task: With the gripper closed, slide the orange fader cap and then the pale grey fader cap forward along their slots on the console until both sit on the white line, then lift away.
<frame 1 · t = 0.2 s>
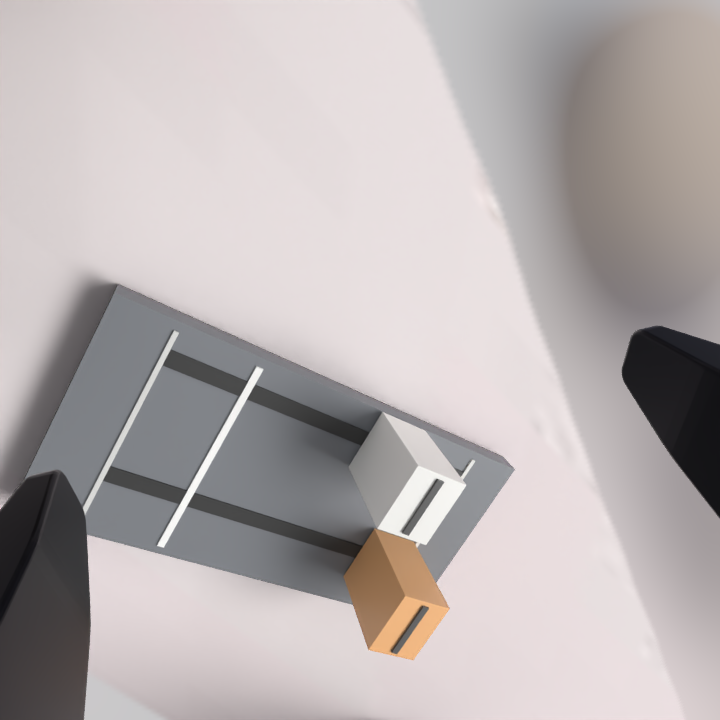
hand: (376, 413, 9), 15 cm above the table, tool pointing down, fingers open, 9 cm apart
console: (287, 474, 27), on the table
fader a: (393, 592, 27), point 4 cm above the table, slide at -6.0 cm
fader b: (403, 475, 24), point 4 cm above the table, slide at -3.0 cm
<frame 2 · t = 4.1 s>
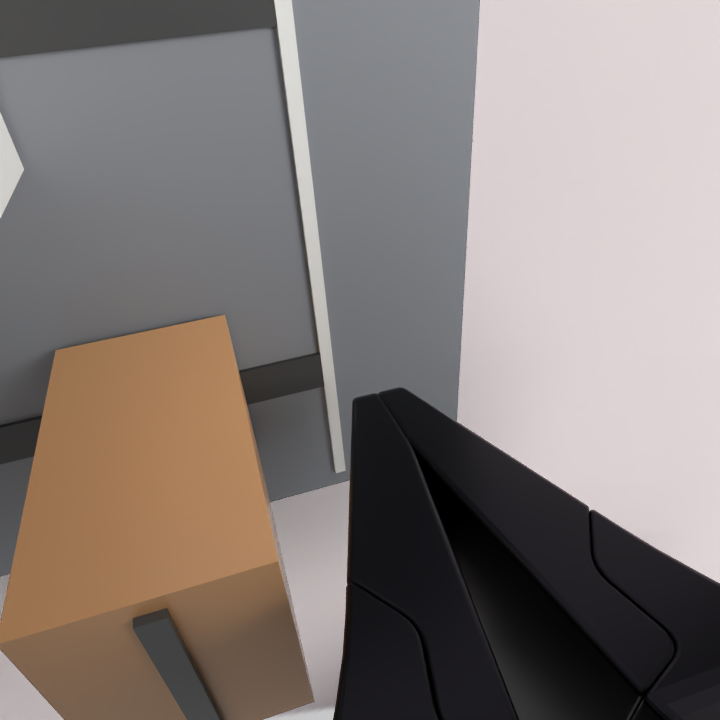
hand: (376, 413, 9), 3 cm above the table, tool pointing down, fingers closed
fader a: (176, 516, 8), point 4 cm above the table, slide at -4.8 cm, touching gripper
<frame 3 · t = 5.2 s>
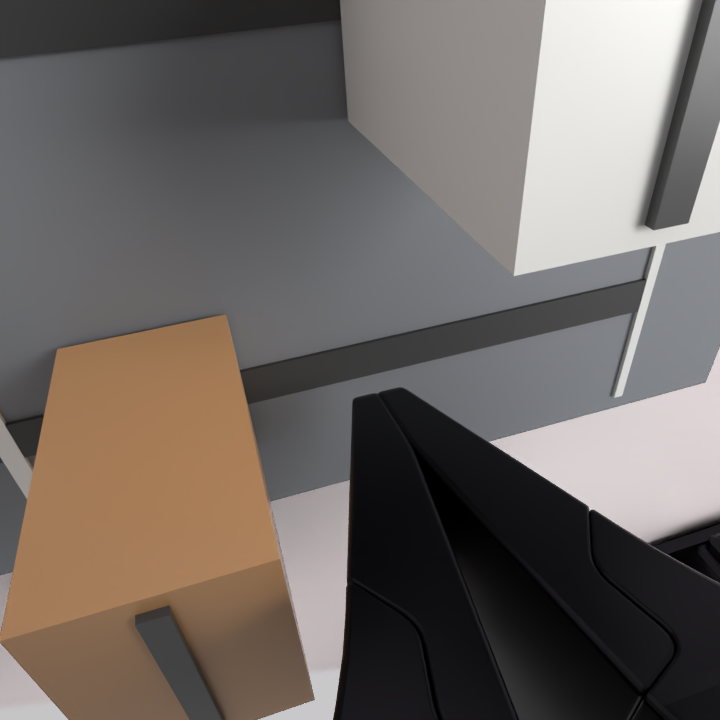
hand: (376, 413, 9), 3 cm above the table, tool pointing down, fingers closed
console: (229, 243, 9), on the table
fader a: (177, 515, 8), point 4 cm above the table, slide at 1.5 cm, touching gripper
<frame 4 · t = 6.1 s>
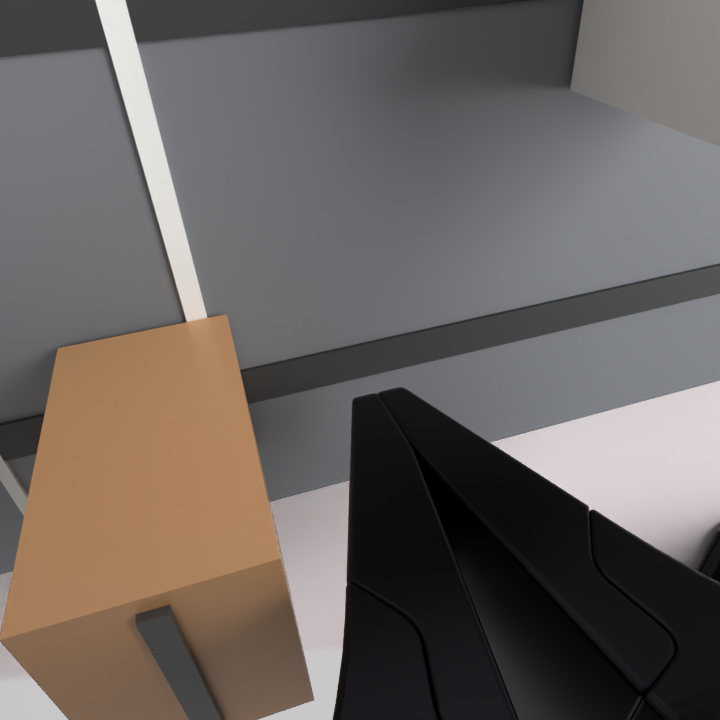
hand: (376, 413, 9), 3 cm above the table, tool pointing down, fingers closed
console: (417, 210, 10), on the table
fader a: (177, 514, 8), point 4 cm above the table, slide at 4.8 cm, touching gripper
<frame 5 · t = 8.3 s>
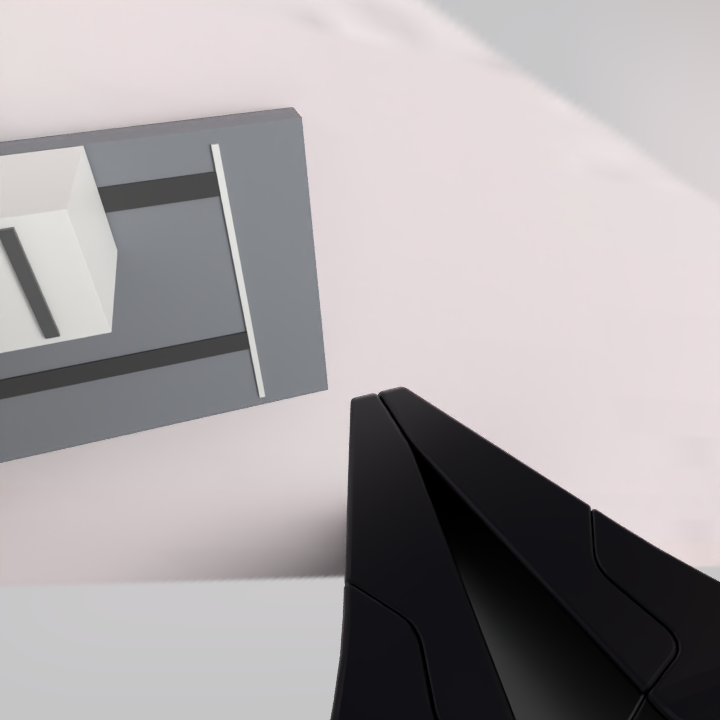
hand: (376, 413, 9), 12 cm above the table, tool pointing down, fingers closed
fader b: (44, 242, 14), point 4 cm above the table, slide at -3.0 cm
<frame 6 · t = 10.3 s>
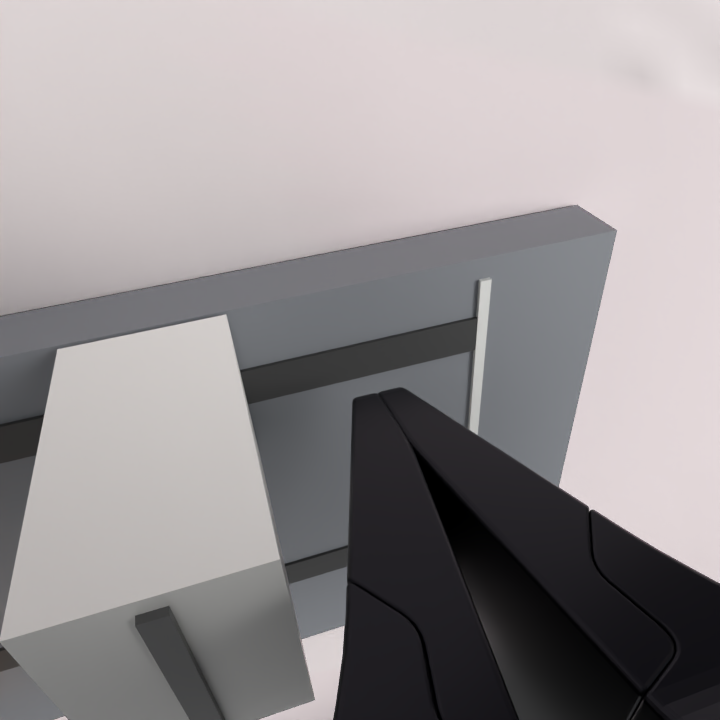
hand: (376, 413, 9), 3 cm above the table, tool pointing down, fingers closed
console: (115, 514, 12), on the table
fader b: (177, 515, 8), point 4 cm above the table, slide at -2.0 cm, touching gripper
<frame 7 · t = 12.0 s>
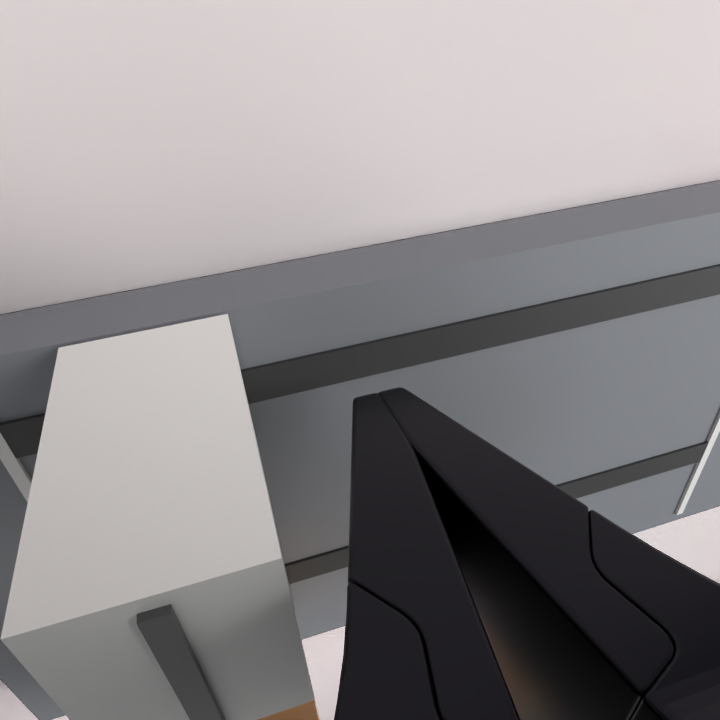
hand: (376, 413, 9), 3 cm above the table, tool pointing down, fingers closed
console: (422, 433, 13), on the table
fader a: (247, 697, 11), point 4 cm above the table, slide at 4.9 cm
fader b: (177, 514, 8), point 4 cm above the table, slide at 4.9 cm, touching gripper
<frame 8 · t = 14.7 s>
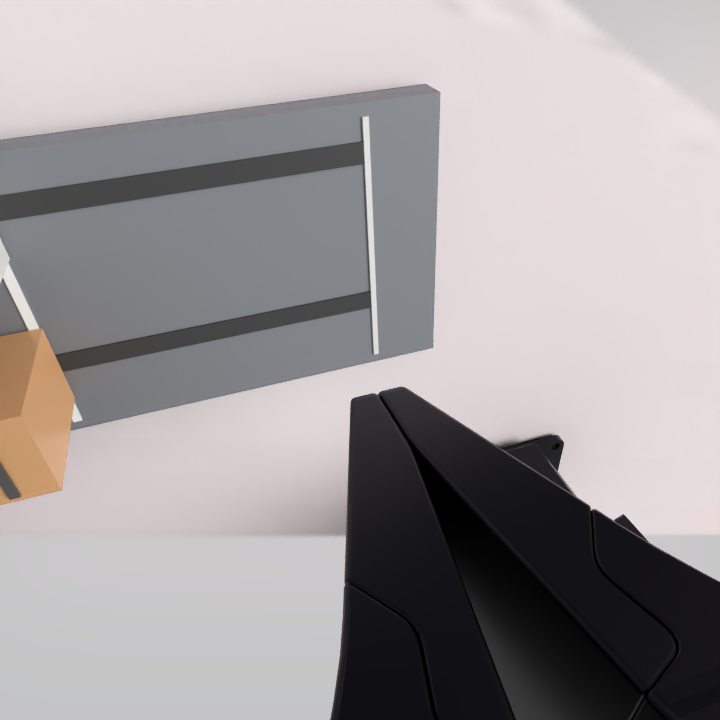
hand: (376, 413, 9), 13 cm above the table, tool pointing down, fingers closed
console: (155, 274, 20), on the table
fader a: (9, 415, 18), point 4 cm above the table, slide at 4.9 cm
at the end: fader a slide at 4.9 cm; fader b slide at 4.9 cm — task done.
